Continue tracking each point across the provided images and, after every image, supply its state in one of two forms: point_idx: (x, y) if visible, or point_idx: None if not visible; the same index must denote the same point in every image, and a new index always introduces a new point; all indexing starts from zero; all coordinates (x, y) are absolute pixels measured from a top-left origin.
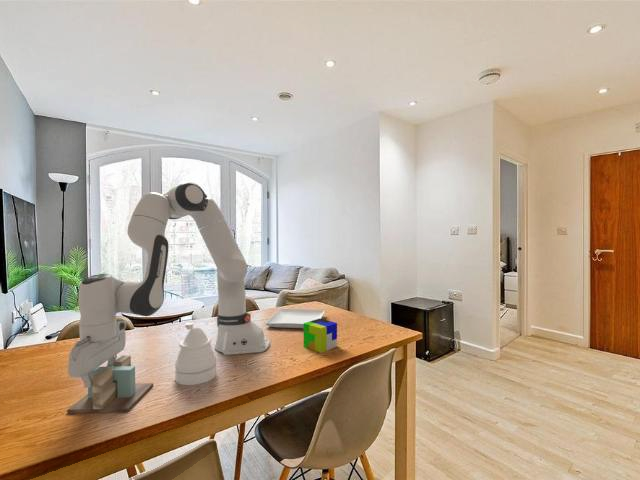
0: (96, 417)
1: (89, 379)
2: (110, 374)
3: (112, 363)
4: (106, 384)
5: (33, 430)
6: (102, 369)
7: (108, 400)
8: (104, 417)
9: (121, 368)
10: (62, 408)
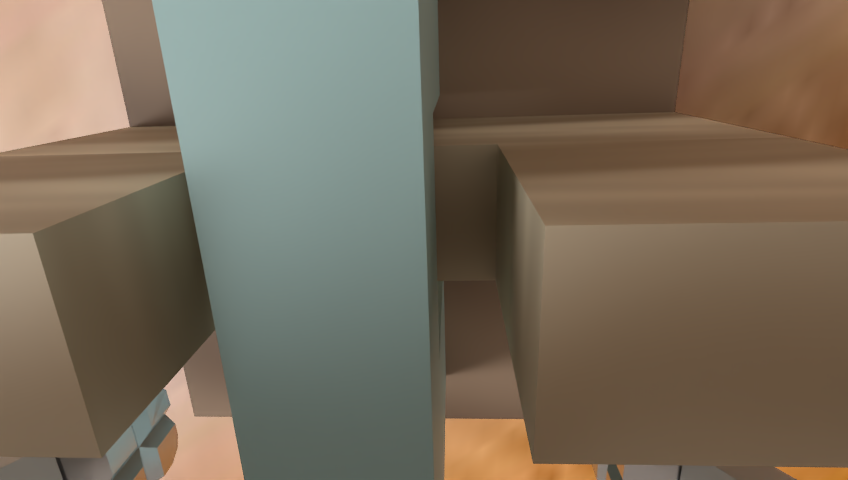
0: (738, 115)
1: (793, 478)
2: (618, 186)
3: (29, 474)
4: (702, 155)
5: (826, 471)
6: (588, 458)
7: (577, 117)
8: (755, 29)
9: (305, 77)
10: (543, 472)
